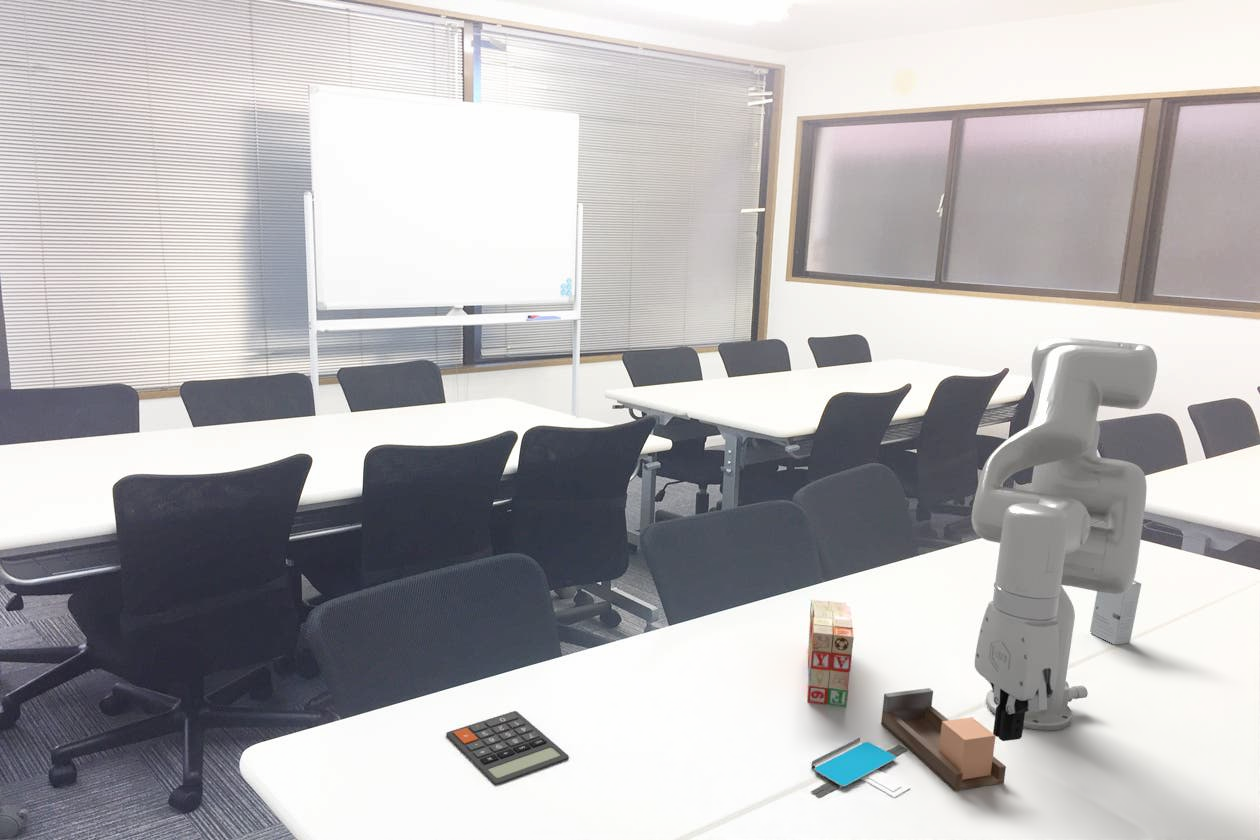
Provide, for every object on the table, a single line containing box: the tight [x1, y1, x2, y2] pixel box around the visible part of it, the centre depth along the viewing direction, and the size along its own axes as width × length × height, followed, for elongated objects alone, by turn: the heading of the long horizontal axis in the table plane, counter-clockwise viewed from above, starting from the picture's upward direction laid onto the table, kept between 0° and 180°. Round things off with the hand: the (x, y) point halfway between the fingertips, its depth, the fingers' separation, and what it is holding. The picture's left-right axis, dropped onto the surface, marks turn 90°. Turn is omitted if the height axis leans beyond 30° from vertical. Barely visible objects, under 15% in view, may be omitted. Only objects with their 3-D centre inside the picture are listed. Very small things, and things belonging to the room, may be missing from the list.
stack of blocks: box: [806, 599, 855, 708], centre depth 157 cm, size 21×6×12 cm, turn 169°
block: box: [939, 716, 996, 780], centre depth 129 cm, size 5×5×6 cm
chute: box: [880, 687, 1007, 792], centre depth 135 cm, size 8×18×5 cm, turn 17°
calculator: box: [446, 710, 570, 786], centre depth 132 cm, size 12×1×15 cm
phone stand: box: [809, 737, 911, 799], centre depth 129 cm, size 20×12×2 cm, turn 129°
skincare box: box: [1089, 579, 1142, 645], centre depth 176 cm, size 6×4×12 cm
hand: (1007, 736), depth 120 cm, fingers closed
